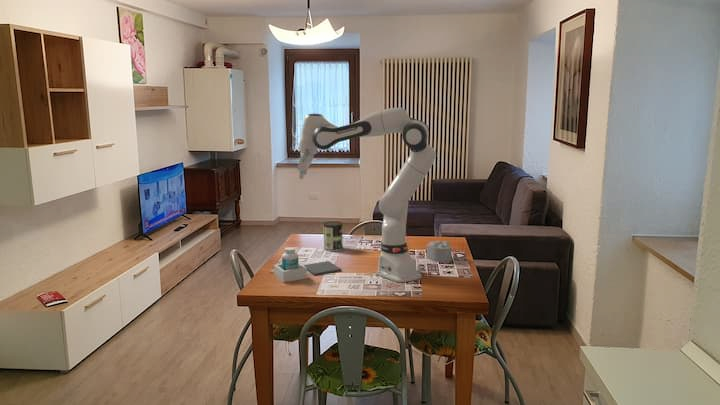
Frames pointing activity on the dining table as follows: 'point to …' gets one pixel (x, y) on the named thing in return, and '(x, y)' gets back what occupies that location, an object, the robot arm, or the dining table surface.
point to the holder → (290, 273)
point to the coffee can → (333, 236)
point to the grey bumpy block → (439, 251)
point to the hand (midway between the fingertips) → (302, 176)
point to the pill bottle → (289, 259)
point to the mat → (322, 268)
